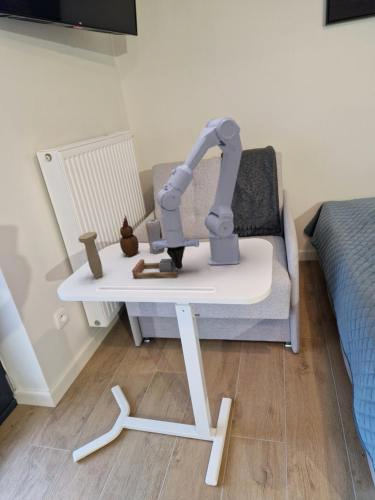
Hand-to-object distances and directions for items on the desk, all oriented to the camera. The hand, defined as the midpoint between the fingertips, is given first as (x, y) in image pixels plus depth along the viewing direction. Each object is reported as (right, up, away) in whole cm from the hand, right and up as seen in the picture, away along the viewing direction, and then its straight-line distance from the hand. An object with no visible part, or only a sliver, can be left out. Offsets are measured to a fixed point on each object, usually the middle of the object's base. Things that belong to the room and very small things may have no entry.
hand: (179, 267), depth 105 cm
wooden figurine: (-19, +4, +21) cm, 28 cm away
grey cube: (-4, -2, +2) cm, 4 cm away
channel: (-7, -2, +2) cm, 7 cm away
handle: (-27, -3, +6) cm, 28 cm away
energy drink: (-9, +5, +20) cm, 22 cm away
